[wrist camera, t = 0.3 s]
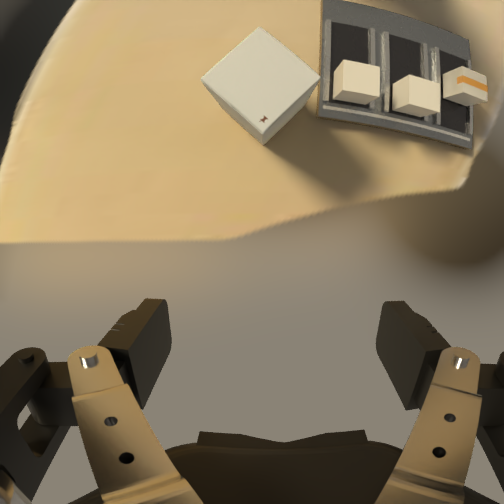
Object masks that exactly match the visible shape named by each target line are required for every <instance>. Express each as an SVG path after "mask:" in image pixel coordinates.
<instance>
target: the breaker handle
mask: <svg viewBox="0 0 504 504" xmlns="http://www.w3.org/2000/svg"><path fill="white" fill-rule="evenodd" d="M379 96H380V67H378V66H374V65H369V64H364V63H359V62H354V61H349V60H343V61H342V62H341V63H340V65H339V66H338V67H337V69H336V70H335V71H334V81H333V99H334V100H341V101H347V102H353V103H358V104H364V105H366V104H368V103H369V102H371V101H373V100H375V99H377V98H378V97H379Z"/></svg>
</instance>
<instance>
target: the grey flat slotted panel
mask: <svg viewBox="0 0 504 504" xmlns="http://www.w3.org/2000/svg"><path fill="white" fill-rule="evenodd" d="M343 60H349V61H354V62H359V63H364V64H369V65H374V66H378V67H380V96H379V97H378V98H377V99H375V100H373V101H371V102H369V103H368V104H366V105H364V104H358V103H353V102H347V101H341V100H334V99H333V81H334V71H335V70H336V69H337V67H338V66H339V65H340V63H341V62H342V61H343ZM461 66H464V67H466V68H469V69H471V70H472V68H471V59H470V48H469V40H467V39H465V38H463V37H461V36H458V35H456V34H454V33H451V32H449V31H446V30H444V29H441V28H438V27H436V26H433V25H430V24H428V23H425V22H422V21H419V20H416V19H413V18H410V17H407V16H403V15H400V14H397V13H393V12H390V11H386V10H382V9H378V8H375V7H370V6H366V5H362V4H357V3H353V2H348V1H343V0H321V24H320V57H319V76H320V77H321V78H320V80H319V82H318V98H317V114H316V118H320V119H327V120H334V121H341V122H348V123H354V124H360V125H365V126H371V127H376V128H381V129H386V130H391V131H396V132H401V133H405V134H410V135H414V136H418V137H422V138H426V139H430V140H434V141H438V142H442V143H446V144H449V145H453V146H456V147H460V148H463V149H472V135H473V105H470V106H464V105H462V104H459V103H456V102H453V101H450V100H447V99H444V98H443V74H445V73H447V72H449V71H451V70H454V69H456V68H459V67H461ZM407 75H413V76H416V77H420V78H423V79H426V80H430V81H433V82H436V83H439V84H440V112H439V113H435V114H431V115H427V116H423V117H418V116H414V115H410V114H406V113H402V112H397V111H393V110H392V98H393V84H394V83H395V82H397V81H399V80H400V79H402V78H404V77H406V76H407Z"/></svg>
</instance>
